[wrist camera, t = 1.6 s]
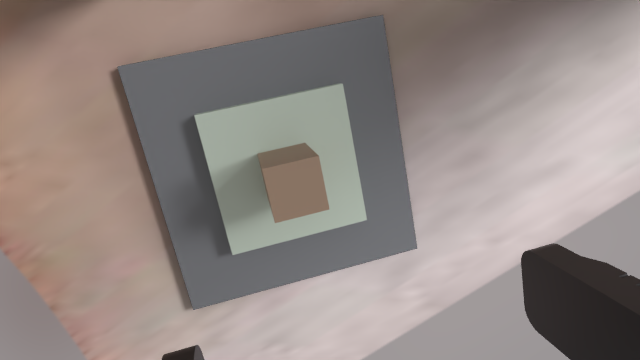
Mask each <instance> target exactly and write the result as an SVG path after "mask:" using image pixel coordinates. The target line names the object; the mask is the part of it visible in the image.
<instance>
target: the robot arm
mask: <svg viewBox="0 0 640 360" xmlns="http://www.w3.org/2000/svg"><path fill="white" fill-rule="evenodd" d="M521 266H522V279H523V292H524V305H525V311H526V314H527V317H528V319H529V321H530V323H531V324H532V326H533V327H534V328H535V330H536V331H537V332H538V333H539V334H541V335H542V336H543V337H544V338H545V339H547V340H548V341H549V342H550V343H551V344H553V345H554V346H555V347H556V348H557V349H558V350H560V351H561V352H562V353H563V354H564V355H566V356H567V357H568V358H569V359H570V360H640V280H639V279H637V278H635V277H633V276H631V275H630V276H628V275H627V273H626V272H624V271H622V270H620V269H617V268H615V267H613V266H611V265H609V264H607V263H605V262H601V261H597V260H593V259H589V258H586V257H581V256H579V255H578V254H575V253H574V252H572V251H570V250H568V249H566V248H564V247H562V246H560V245H558V244H549V245H546V246H542V247H539V248H535V249H532V250H528V251H525V252H524V253H523V255H522V258H521ZM162 360H204V357H203V354H202V351H201V349H200V347H199V346H198V345H196V346H192V347H189V348H185V349H182V350H178V351H175V352H171V353H168V354H164V355H163V357H162Z"/></svg>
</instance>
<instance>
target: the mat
mask: <svg viewBox="0 0 640 360" xmlns="http://www.w3.org/2000/svg"><path fill="white" fill-rule="evenodd" d="M117 68H118V71H119V74H120V77H121V80H122V83H123V87H124V90H125V93H126V96H127V99H128V103H129V106H130V109H131V112H132V115H133V119H134V122H135V125H136V128H137V131H138V135H139V138H140V141H141V144H142V147H143V151H144V154H145V157H146V160H147V163H148V166H149V170H150V173H151V176H152V179H153V182H154V186H155V189H156V192H157V195H158V198H159V202H160V205H161V208H162V211H163V214H164V218H165V221H166V224H167V227H168V230H169V234H170V237H171V240H172V243H173V246H174V250H175V253H176V256H177V259H178V262H179V265H180V269H181V272H182V275H183V278H184V281H185V285H186V288H187V291H188V294H189V297H190V301H191V304H192V307H193V310H195V309H199V308H202V307H206V306H210V305H213V304H217V303H221V302H224V301H228V300H232V299H235V298H239V297H242V296H246V295H250V294H253V293H257V292H261V291H264V290H268V289H272V288H275V287H279V286H282V285H286V284H290V283H293V282H297V281H301V280H304V279H308V278H311V277H315V276H319V275H322V274H326V273H330V272H333V271H337V270H341V269H344V268H348V267H351V266H355V265H359V264H362V263H366V262H370V261H373V260H377V259H381V258H384V257H388V256H391V255H395V254H399V253H402V252H406V251H410V250H413V249H417V243H416V236H415V230H414V223H413V216H412V209H411V202H410V196H409V189H408V182H407V175H406V168H405V161H404V155H403V148H402V141H401V134H400V127H399V121H398V114H397V107H396V100H395V93H394V86H393V80H392V73H391V66H390V59H389V52H388V46H387V39H386V32H385V25H384V18H383V15H380V16H374V17H369V18H364V19H359V20H354V21H349V22H344V23H338V24H333V25H328V26H323V27H318V28H313V29H308V30H302V31H297V32H292V33H287V34H282V35H277V36H272V37H267V38H261V39H256V40H251V41H246V42H241V43H236V44H231V45H225V46H220V47H215V48H210V49H205V50H200V51H195V52H189V53H184V54H179V55H174V56H169V57H164V58H159V59H154V60H148V61H143V62H138V63H133V64H128V65H123V66H118V67H117ZM338 83H341V84H343V87H344V93H345V99H346V104H347V110H348V115H349V121H350V127H351V132H352V138H353V144H354V149H355V155H356V160H357V166H358V172H359V177H360V183H361V189H362V194H363V200H364V205H365V211H366V217H367V220H365V221H362V222H358V223H354V224H350V225H346V226H342V227H339V228H335V229H331V230H327V231H323V232H320V233H316V234H312V235H308V236H304V237H300V238H297V239H293V240H289V241H285V242H281V243H277V244H274V245H270V246H266V247H262V248H258V249H254V250H251V251H247V252H243V253H239V254H235V255H232V252H231V248H230V244H229V241H228V237H227V233H226V230H225V226H224V222H223V219H222V215H221V211H220V208H219V204H218V201H217V197H216V193H215V190H214V186H213V182H212V179H211V175H210V171H209V168H208V164H207V160H206V157H205V153H204V150H203V146H202V142H201V139H200V135H199V131H198V128H197V124H196V120H195V117H194V115H195V114H198V113H203V112H207V111H212V110H217V109H221V108H226V107H231V106H235V105H240V104H245V103H249V102H254V101H259V100H263V99H268V98H273V97H277V96H282V95H287V94H291V93H296V92H301V91H305V90H310V89H315V88H319V87H324V86H329V85H333V84H338Z"/></svg>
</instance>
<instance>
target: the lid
mask: <svg viewBox="0 0 640 360" xmlns="http://www.w3.org/2000/svg"><path fill="white" fill-rule="evenodd" d="M194 117H195V120H196V124H197V128H198V131H199V135H200V139H201V142H202V146H203V150H204V153H205V157H206V160H207V164H208V168H209V171H210V175H211V179H212V182H213V186H214V190H215V193H216V197H217V201H218V204H219V208H220V211H221V215H222V219H223V222H224V226H225V230H226V233H227V237H228V241H229V244H230V248H231V252H232V255H235V254H239V253H243V252H247V251H251V250H254V249H258V248H262V247H266V246H270V245H274V244H277V243H281V242H285V241H289V240H293V239H297V238H300V237H304V236H308V235H312V234H316V233H320V232H323V231H327V230H331V229H335V228H339V227H342V226H346V225H350V224H354V223H358V222H362V221H365V220H367V217H366V211H365V205H364V200H363V194H362V189H361V183H360V177H359V172H358V166H357V160H356V155H355V149H354V144H353V138H352V132H351V127H350V121H349V115H348V110H347V104H346V99H345V93H344V87H343V84H341V83H338V84H333V85H329V86H324V87H319V88H315V89H310V90H305V91H301V92H296V93H291V94H287V95H282V96H277V97H273V98H268V99H263V100H259V101H254V102H249V103H245V104H240V105H235V106H231V107H226V108H221V109H217V110H212V111H207V112H203V113H198V114H195V115H194Z"/></svg>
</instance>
